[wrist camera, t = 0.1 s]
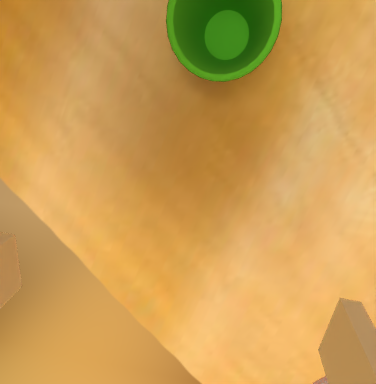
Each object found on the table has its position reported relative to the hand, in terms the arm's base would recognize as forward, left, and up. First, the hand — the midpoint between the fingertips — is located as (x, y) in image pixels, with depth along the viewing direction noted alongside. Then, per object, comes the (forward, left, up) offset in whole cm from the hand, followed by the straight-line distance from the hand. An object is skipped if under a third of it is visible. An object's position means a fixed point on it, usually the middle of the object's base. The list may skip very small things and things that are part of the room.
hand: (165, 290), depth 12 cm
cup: (-12, 0, -28) cm, 31 cm away
